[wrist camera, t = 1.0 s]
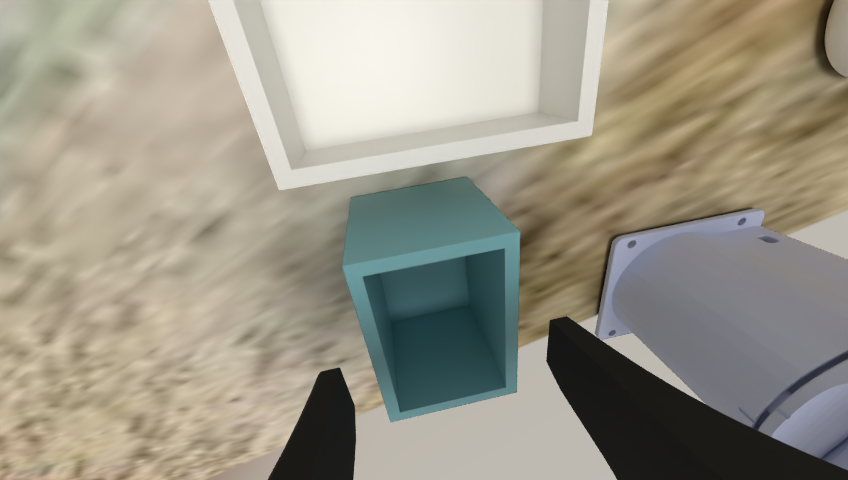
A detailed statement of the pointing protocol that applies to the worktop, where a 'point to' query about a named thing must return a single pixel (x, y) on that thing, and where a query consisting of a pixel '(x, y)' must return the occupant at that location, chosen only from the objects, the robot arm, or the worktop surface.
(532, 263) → the worktop surface
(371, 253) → the teal crate
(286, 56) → the white crate
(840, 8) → the water bottle
